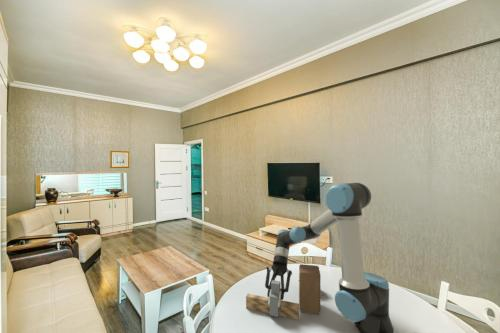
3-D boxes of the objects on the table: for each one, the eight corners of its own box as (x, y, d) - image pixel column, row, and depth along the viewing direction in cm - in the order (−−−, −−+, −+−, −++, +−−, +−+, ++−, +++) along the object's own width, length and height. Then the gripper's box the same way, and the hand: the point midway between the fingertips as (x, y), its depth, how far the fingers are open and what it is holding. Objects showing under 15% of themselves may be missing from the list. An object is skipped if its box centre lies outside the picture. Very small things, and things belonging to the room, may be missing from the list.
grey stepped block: (273, 304, 116) (273, 277, 116) (281, 306, 115) (281, 278, 115) (269, 315, 108) (269, 285, 108) (277, 317, 107) (277, 287, 107)
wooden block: (320, 315, 109) (320, 273, 109) (299, 312, 111) (299, 271, 111) (318, 303, 119) (318, 265, 119) (299, 300, 121) (299, 263, 121)
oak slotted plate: (298, 316, 109) (298, 303, 109) (298, 319, 106) (298, 306, 106) (247, 305, 117) (247, 293, 117) (246, 308, 115) (246, 296, 115)
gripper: (297, 262, 123) (292, 311, 107) (267, 258, 129) (258, 304, 113) (296, 256, 118) (291, 307, 102) (264, 252, 124) (255, 299, 108)
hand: (274, 305), depth 108 cm, fingers closed on grey stepped block, 4 cm apart
